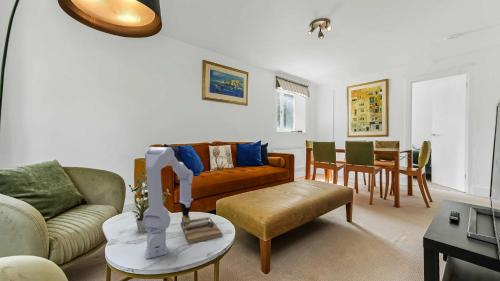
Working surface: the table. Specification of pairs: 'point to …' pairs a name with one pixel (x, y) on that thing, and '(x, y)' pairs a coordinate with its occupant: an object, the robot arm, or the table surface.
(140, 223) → the house plant
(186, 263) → the table surface
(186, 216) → the brass catch
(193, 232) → the walnut board
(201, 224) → the clamp bar
